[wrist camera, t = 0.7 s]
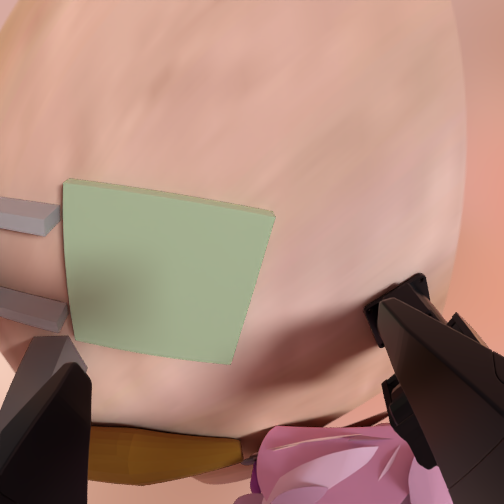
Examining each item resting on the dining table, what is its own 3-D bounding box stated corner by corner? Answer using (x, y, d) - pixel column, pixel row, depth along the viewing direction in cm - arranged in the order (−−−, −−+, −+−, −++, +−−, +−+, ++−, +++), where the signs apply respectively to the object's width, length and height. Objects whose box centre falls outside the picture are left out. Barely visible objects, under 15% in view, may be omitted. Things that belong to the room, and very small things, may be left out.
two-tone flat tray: (272, 211, 21) (279, 226, 18) (230, 356, 27) (231, 377, 25) (-25, 168, 16) (-44, 179, 13) (-2, 310, 22) (-13, 327, 20)
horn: (237, 422, 38) (79, 426, 36) (229, 421, 29) (39, 419, 28) (246, 475, 33) (84, 472, 32) (240, 489, 25) (45, 476, 24)
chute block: (68, 335, 24) (25, 458, 13) (87, 367, 26) (58, 482, 15) (33, 336, 24) (-13, 446, 12) (53, 367, 26) (20, 471, 15)
